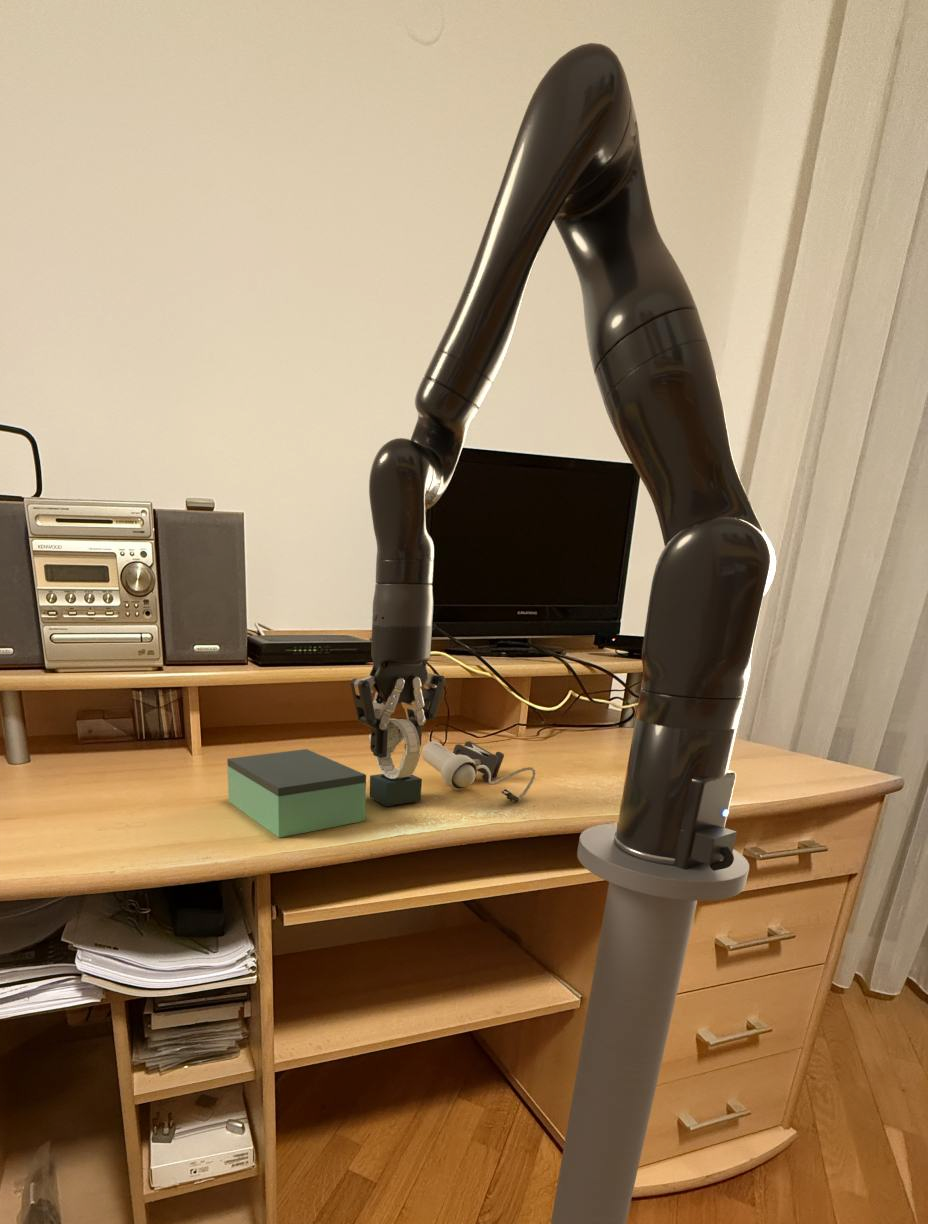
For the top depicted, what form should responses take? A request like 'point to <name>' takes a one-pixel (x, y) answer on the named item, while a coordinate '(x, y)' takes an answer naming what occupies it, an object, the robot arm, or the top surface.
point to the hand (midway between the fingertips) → (395, 753)
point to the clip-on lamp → (468, 765)
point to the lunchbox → (296, 791)
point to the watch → (399, 782)
